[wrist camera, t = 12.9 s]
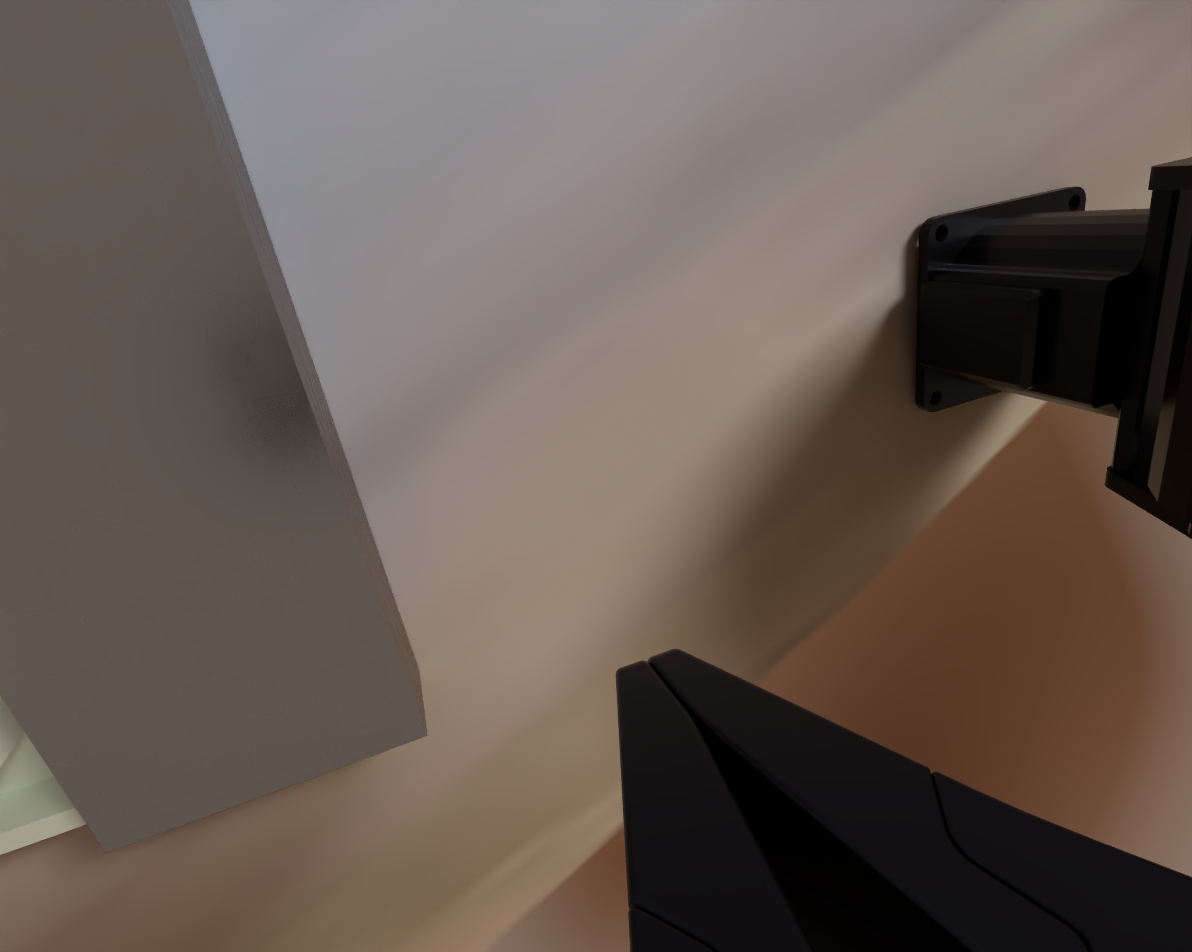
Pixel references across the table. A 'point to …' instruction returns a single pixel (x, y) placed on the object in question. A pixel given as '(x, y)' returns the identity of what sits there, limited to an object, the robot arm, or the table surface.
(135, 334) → the plate
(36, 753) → the box
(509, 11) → the table surface
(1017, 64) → the table surface
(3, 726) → the tile
